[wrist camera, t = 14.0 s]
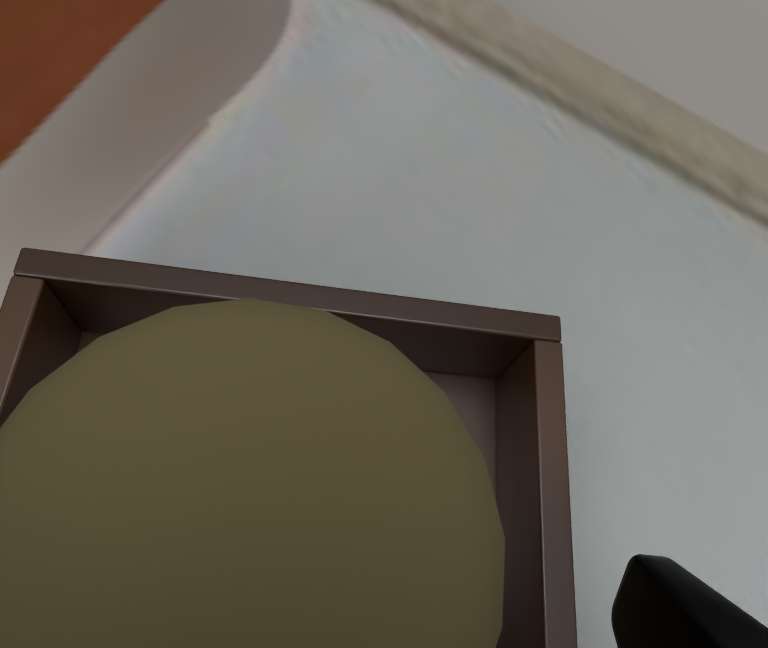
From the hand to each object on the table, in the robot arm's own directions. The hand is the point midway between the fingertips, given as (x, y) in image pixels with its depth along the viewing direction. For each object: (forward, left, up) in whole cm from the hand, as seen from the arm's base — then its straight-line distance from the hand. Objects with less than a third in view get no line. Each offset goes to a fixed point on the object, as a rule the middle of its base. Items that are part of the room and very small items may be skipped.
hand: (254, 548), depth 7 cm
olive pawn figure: (0, 0, -9) cm, 9 cm away
